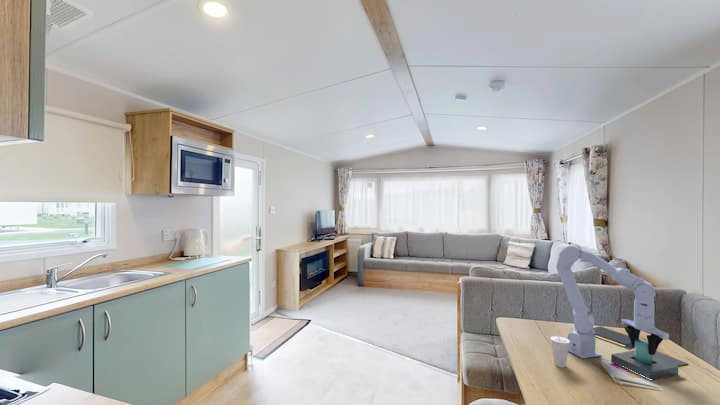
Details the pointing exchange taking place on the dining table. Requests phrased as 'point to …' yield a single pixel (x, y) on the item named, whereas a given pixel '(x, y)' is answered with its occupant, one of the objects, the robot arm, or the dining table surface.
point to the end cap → (642, 352)
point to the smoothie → (560, 350)
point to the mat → (669, 359)
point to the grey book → (613, 337)
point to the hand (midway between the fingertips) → (643, 350)
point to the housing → (645, 365)
